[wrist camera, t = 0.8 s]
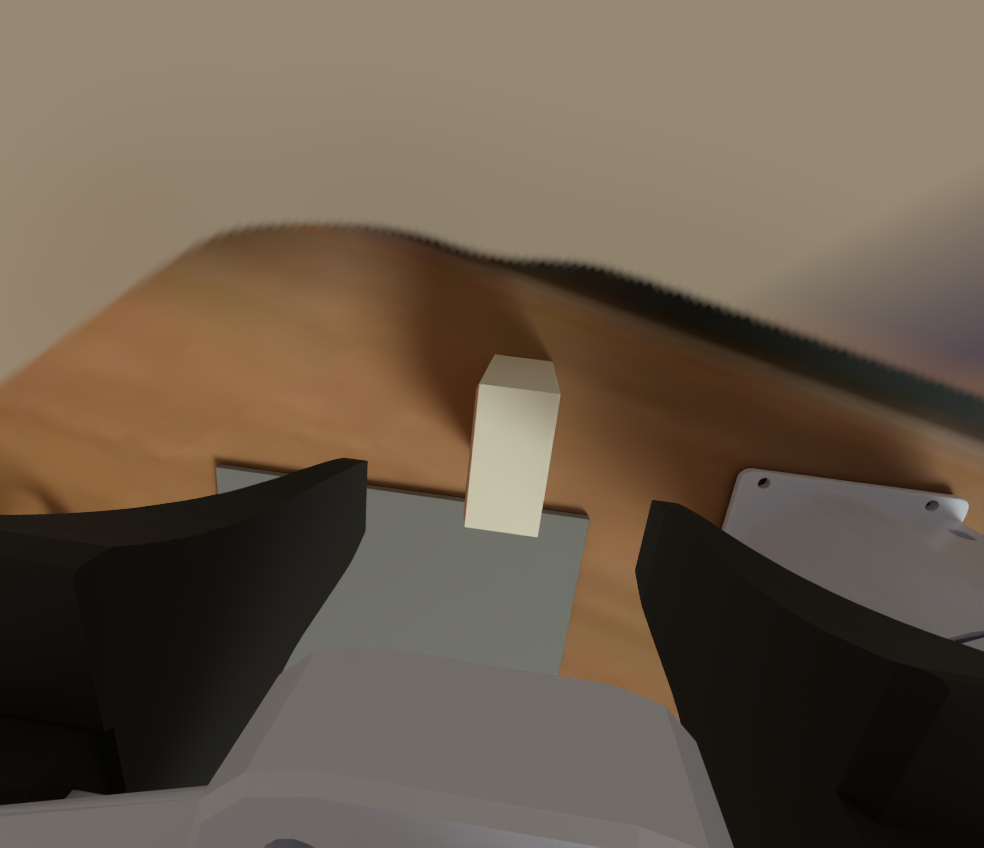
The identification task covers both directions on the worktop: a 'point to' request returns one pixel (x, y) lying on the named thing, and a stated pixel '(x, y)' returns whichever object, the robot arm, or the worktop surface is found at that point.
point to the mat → (446, 583)
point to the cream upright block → (511, 445)
